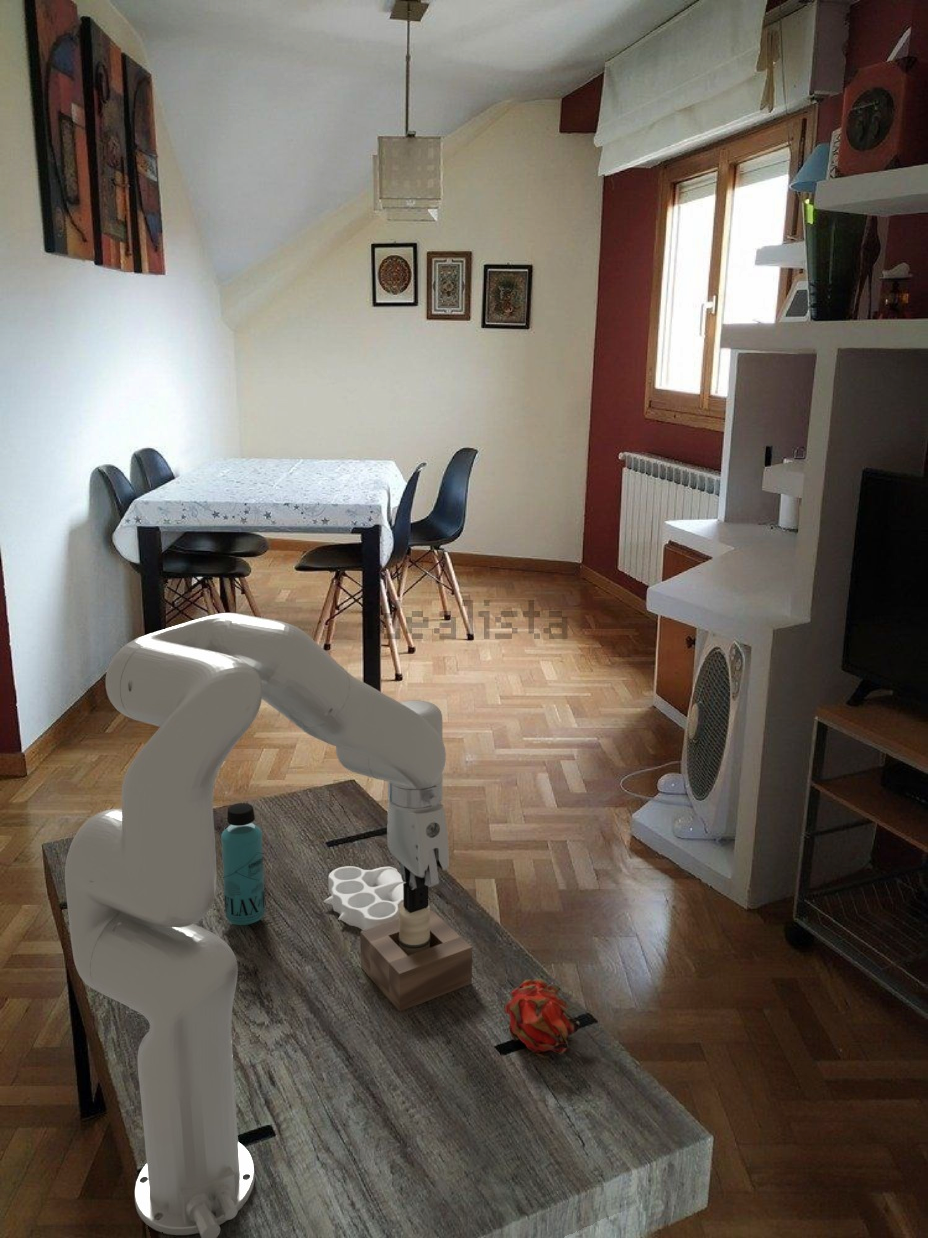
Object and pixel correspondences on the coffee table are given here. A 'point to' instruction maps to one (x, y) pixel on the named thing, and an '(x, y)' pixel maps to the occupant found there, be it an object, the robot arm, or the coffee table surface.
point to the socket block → (416, 963)
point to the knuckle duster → (365, 895)
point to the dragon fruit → (540, 1017)
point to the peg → (414, 930)
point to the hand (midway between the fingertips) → (416, 907)
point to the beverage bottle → (243, 867)
